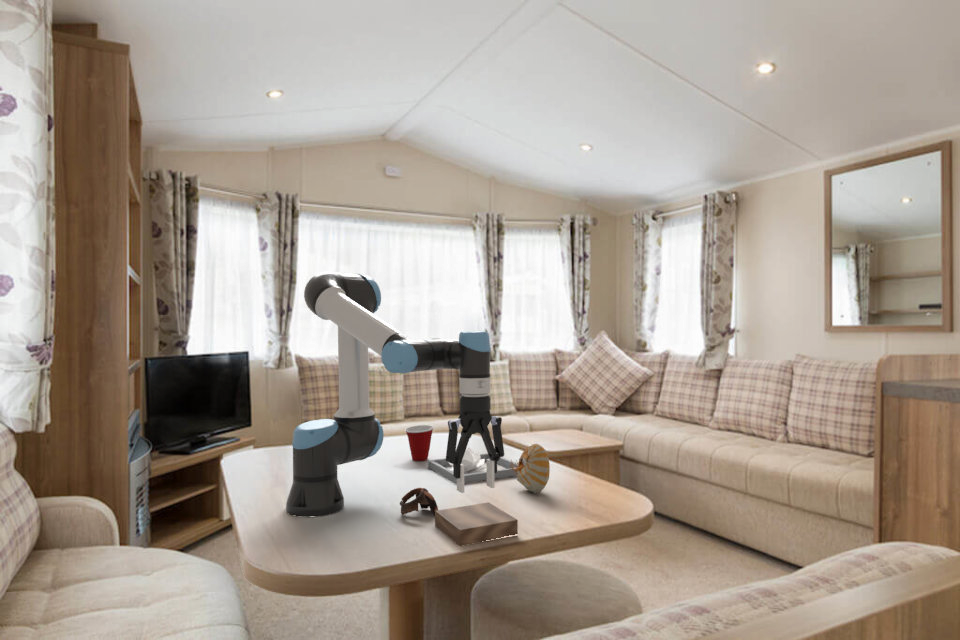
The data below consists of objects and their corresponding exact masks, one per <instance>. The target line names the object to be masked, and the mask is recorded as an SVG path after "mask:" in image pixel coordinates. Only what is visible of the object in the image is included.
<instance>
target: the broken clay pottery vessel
mask: <svg viewBox="0 0 960 640" xmlns="http://www.w3.org/2000/svg"><path fill="white" fill-rule="evenodd" d="M413 497H415V498H413ZM411 498H413V499H412V500H411V501H408V500H410V499H411ZM399 506H400V514H401V515H406V514H409V513H412V512H414V511H415V512H418V513H419V507H420V509H425V510H426V509H428V508H429V510H430V511H431V512H434V513H435V511H437V510H439V507H438V504H437V501H436V499H435V497H434V495H432V494H431V492H429V490H428V489H427V488H425V487H416V488H414V489H412V490H410V491H408V492H407V493H405V494H404V495H403V496H402V498H401V501H400V502H399Z"/></svg>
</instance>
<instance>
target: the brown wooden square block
mask: <svg viewBox="0 0 960 640" xmlns="http://www.w3.org/2000/svg"><path fill="white" fill-rule="evenodd" d="M518 525H519V524H518V519H517V518H516V517H514V516H513V515H510V514H509V513H507V512H505V511H504V510H502V509H501V508H499V507H497V506H495V505H494V504H492V503H491V502H483V503H476V504H470V505H465V506H457V507H450V508H445V509H438V510H437V511H435V512H434V526H435V527H436V528H437V529H438V530H439V531H441V532H442V533H443V534H444V535H446V537H448V538H450V540H451V541H453V542H454V543H455V542H456V543H455V544H456V545H458V546H459V547H463V546H462V545H464V546H468V545H467V544H470V545H473V544H472V543H476V544H479V543H478V542H482V541H486V540H491V539H496V538H501V537H504V536H509V535H515V534H519V533H518V530H519V529H518V528H519V527H518ZM482 543H483V542H482Z"/></svg>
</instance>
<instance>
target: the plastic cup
mask: <svg viewBox="0 0 960 640" xmlns="http://www.w3.org/2000/svg"><path fill="white" fill-rule="evenodd" d="M434 428H435V427H434V425H429V424H422V425H412V426H409V427H405V428H404V431H405V433H406V436H407V439H408V444H409V449H410V455H411V460H412V461H415V462H423V461H427V460H428V459H429V453H430V448H431V441H432V436H433V430H434Z"/></svg>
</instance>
